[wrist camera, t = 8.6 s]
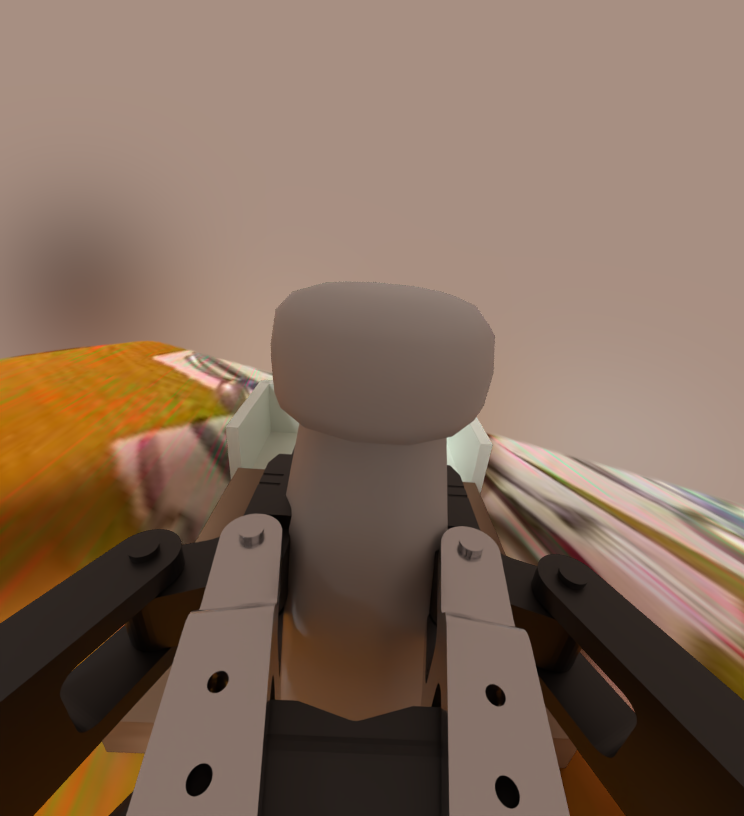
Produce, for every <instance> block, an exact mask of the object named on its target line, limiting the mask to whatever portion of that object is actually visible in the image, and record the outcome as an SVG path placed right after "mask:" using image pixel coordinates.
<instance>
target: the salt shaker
mask: <svg viewBox="0 0 744 816" xmlns="http://www.w3.org/2000/svg"><path fill="white" fill-rule="evenodd" d="M494 344H495V335H494V334H493V332H492V329H491V328H490V326H489V324H488V323H487V321H486V320H485V319H484V317H483V316H482V314H481V313H480V311H479V310H478V308H477V307H476V306H475V305H472V304H471V303H468V302H466V301H464V300H462V299H460V298H458V297H455V296H453V295H450V294H447V293H444V292H440V291H435V290H430V289H425V288H420V287H414V286H406V285H394V284H385V283H377V282H326V283H322V284H319V285H315V286H311V287H308V288H304V289H300V290H297V291H293V292H292V293H291V294H290V295H289V296H288V297H287V298H286V299H285V300H284V301H283V302H282V303H281V304H280V306H279V307H278V308H277V309H276V311H275V318H274V325H273V332H272V339H271V361H272V372H273V384H274V393H275V395H276V398H277V400H278V403H279V405H280V408H281V409H282V410H284V411H285V412H286V413H287V414H288V415H290V416H291V417H292V418H293V419H295V420H296V421H297V422H298V423H299V427H298V433H297V438H296V444H295V449H294V454H293V460H292V465H291V470H290V476H289V481H288V487H287V492H286V496H287V499H288V501H289V503H290V506H291V511H292V517H291V522H290V526H289V535H290V550H289V573H288V595H287V599H286V602H285V616H284V636H283V656H282V675H281V700H294V701H300V702H303V703H306V704H308V705H311V706H314V707H316V708H319V709H322V710H324V711H327V712H330V713H332V714H335V715H338V716H340V717H343V718H346V719H349V720H352V721H359V720H364V719H367V718H371V717H375V716H378V715H382V714H386V713H389V712H393V711H397V710H400V709H404V708H407V707H411V706H421V698H422V681H423V657H424V636H425V629H426V622H427V616H428V615H429V613H430V612H429V610H430V598H431V589H432V579H433V570H434V560H435V551H437V550H438V549H439V548H440V543H441V539H442V536H443V534H444V533H445V532H446V531H447V530H448V514H447V438H448V437H452V436H454V435H455V434H456V433H458V432H459V431H461V430H462V429H463V428H465V427H466V426H467V425H469V424H470V423H471V422H473V421H474V420H475V418H476V417H477V415H478V414H479V412H480V411H481V409H482V407H483V406H484V403H485V399H486V396H487V393H488V390H489V386H490V383H491V379H492V376H493V369H494Z"/></svg>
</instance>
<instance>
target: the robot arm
mask: <svg viewBox="0 0 744 816" xmlns="http://www.w3.org/2000/svg"><path fill="white" fill-rule="evenodd" d="M294 449H295V447H294ZM294 449H293V452H292V454H278V455H277V456H276V457H274V458H273V459H272V460H271V461H269V462H268V464H267V466H266V468H265V471H264V473H263V475H262V477H261V479H260V481H259V484H258V485H257V488H256V490H255V492H254V494H253V496H252V498H251V500H250V502H249V505H248V507H247V509H246V511H245V513H244V515H243V516H242V517H239V518H237V519H235V520H233V521H232V522H230V523H229V524H228V525H227V526H226V527H225V528H224V529H223V531H222V533H221V535H220V537H217V538H214V539H211V540H206V541H201V542H195V543H190V544H185V545H182V544H181V540H180V538H179V536H178V535H177V534H176V533H174V532H172V531H169V530H164V529H155V530H148V531H144V532H141V533H138V534H135V535H133V536H131V537H129V538H127V539H126V540H124V541H122V542H121V543H119V544H118V545H116V546H115V547H113V548H112V549H111V550H109V551H108V552H106V553H105V554H103V555H102V556H100V557H99V558H97V559H96V560H94V561H93V562H91V563H90V564H88V565H87V566H85V567H84V568H82V569H81V570H79V571H78V572H76V573H75V574H73V575H72V576H70V577H69V578H67V579H66V580H64V581H63V582H61V583H60V584H58V585H57V586H55V587H54V588H52V589H51V590H49V591H48V592H46V593H45V594H44V595H42V596H41V597H39V598H38V599H36V600H35V601H33V602H32V603H30V604H29V605H27V606H26V607H24V608H23V609H21V610H20V611H18V612H17V613H15V614H14V615H12V616H11V617H9V618H8V619H6V620H5V621H3V622H2V623H0V816H34V814H35V813H36V812H37V811H38V810H39V809H40V808H41V807H42V806H43V805H44V804H45V802H46V801H47V800H48V799H49V798H50V797H51V796H52V795H53V794H54V793H55V792H56V791H57V789H58V788H59V787H60V786H61V785H62V784H63V783H64V782H65V781H66V780H67V779H68V777H69V776H70V775H71V774H72V773H73V772H74V771H75V770H76V769H77V768H78V767H79V765H80V764H81V763H82V762H83V761H84V760H85V759H86V758H87V757H88V756H89V755H90V754H91V752H92V751H93V750H94V749H95V748H96V747H97V746H98V745H99V744H100V743H101V742H102V740H103V739H104V738H105V737H106V736H107V735H108V734H109V733H110V732H111V731H112V730H113V728H114V727H115V726H116V725H117V724H118V723H119V722H120V721H121V720H122V719H123V718H124V716H125V715H126V714H127V713H128V712H129V711H130V710H131V709H132V708H133V707H134V706H135V705H136V703H137V702H138V701H139V700H140V699H141V698H142V697H143V696H144V695H145V694H146V693H147V691H148V690H149V689H150V688H151V687H152V686H153V685H154V684H155V683H156V682H157V681H158V679H159V678H160V677H161V676H162V675H163V674H164V673H165V672H166V671H167V670H168V669H169V668H170V666H171V665H172V667H171V671H170V674H169V677H168V680H167V684H166V687H165V690H164V693H163V697H162V700H161V703H160V707H159V710H158V713H157V716H156V720H155V723H154V726H153V729H152V733H151V736H150V739H149V742H148V746H147V749H146V752H145V756H144V759H143V762H142V765H141V769H140V772H139V775H138V778H137V782H136V785H135V788H134V791H133V792H132V793H131V794H130V795H129V796H128V797H127V798H126V799H125V800H124V801H123V802H122V803H121V804H120V805H119V806H118V807H117V808H116V809H115V810H114V811H113V812H112V813H111V814H110V815H109V816H570V814H569V810H568V805H567V801H566V797H565V792H564V788H563V783H562V779H561V775H560V770H559V766H558V761H557V757H556V752H555V748H554V744H553V739H552V735H551V730H550V726H549V722H548V717H547V713H546V708H547V709H548V710H549V712H550V713H551V714H552V716H553V717H554V718H555V720H556V721H557V723H558V724H559V725H560V727H561V728H562V729H563V731H564V732H565V733H566V735H567V736H568V738H569V739H570V740H571V742H572V743H573V744H574V746H575V747H576V748H577V750H578V751H579V752H580V754H581V755H582V757H583V758H584V759H585V761H586V762H587V763H588V765H589V766H590V767H591V769H592V770H593V772H594V773H595V774H596V776H597V777H598V778H599V780H600V781H601V782H602V784H603V785H604V787H605V788H606V789H607V791H608V792H609V793H610V795H611V796H612V797H613V799H614V800H615V802H616V803H617V804H618V806H619V807H620V808H621V810H622V811H623V812H624V814H625V815H626V816H744V700H742V699H741V698H740V697H739V696H738V695H737V694H736V693H734V692H733V691H732V690H731V689H730V688H729V687H727V686H726V685H725V684H724V683H723V682H722V681H720V680H719V679H718V678H717V677H716V676H715V675H713V674H712V673H711V672H710V671H709V670H708V669H707V668H705V667H704V666H703V665H702V664H701V663H700V662H698V661H697V660H696V659H695V658H694V657H693V656H691V655H690V654H689V653H688V652H687V651H686V650H684V649H683V648H682V647H681V646H680V645H679V644H678V643H676V642H675V641H674V640H673V639H672V638H671V637H669V636H668V635H667V634H666V633H665V632H664V631H662V630H661V629H660V628H659V627H658V626H657V625H655V624H654V623H653V622H652V621H651V620H650V619H649V618H647V617H646V616H645V615H644V614H643V613H642V612H640V611H639V610H638V609H637V608H636V607H635V606H633V605H632V604H631V603H630V602H629V601H628V600H626V599H625V598H624V597H623V596H622V595H621V594H620V593H618V592H617V591H616V590H615V589H614V588H613V587H611V586H610V585H609V584H608V583H607V582H606V581H604V580H603V579H602V578H601V577H600V576H599V575H597V574H596V573H595V572H594V571H593V570H592V569H590V568H589V567H588V566H586V565H585V564H583V563H582V562H580V561H578V560H576V559H574V558H571V557H568V556H565V555H560V554H550V555H546V556H544V557H542V558H541V559H540V561H539V563H538V565H537V566H534V565H531V564H528V563H525V562H522V561H518V560H515V559H512V558H510V557H507V556H505V555H503V554H501V553H500V550H499V548H498V546H497V544H496V543H495V541H494V540H493V539H492V538H491V537H489V536H488V535H487V534H485V533H484V532H482V531H481V530H480V528H479V525H478V522H477V520H476V517H475V514H474V511H473V509H472V506H471V503H470V501H469V498H468V497H467V496H468V495H467V493H466V490H465V488H464V485H463V482H462V479H461V476H460V475H459V474H458V473H457V472H456V471H455V470H454V469H453V468H452V467H451V466H450V465H447V514H448V530H447V531H446V532H445V533H444V534H443V536H442V539H441V543H440V548H439V549H438V550H437V551H435V560H434V570H433V579H432V589H431V598H430V610H429V612H430V613H429V615H428V616H427V622H426V629H425V636H424V657H423V681H422V698H421V706H411V707H407V708H404V709H400V710H397V711H393V712H389V713H386V714H382V715H378V716H375V717H371V718H367V719H364V720H359V721H352V720H349V719H346V718H343V717H340V716H338V715H335V714H332V713H330V712H327V711H324V710H322V709H319V708H316V707H314V706H311V705H308V704H306V703H303V702H300V701H294V700H281V675H282V656H283V636H284V616H285V602H286V599H287V595H288V573H289V550H290V535H289V526H290V522H291V517H292V511H291V506H290V503H289V501H288V499H287V496H286V492H287V487H288V481H289V476H290V470H291V465H292V460H293V454H294ZM124 624H125V625H124ZM123 625H124V626H123ZM122 626H123V627H122ZM121 627H122V628H121ZM120 628H121V629H120ZM118 629H120V630H119V631H117V630H118ZM116 631H117V632H116ZM115 632H116V633H115ZM114 633H115V634H114ZM113 634H114V635H113ZM112 635H113V636H112ZM110 636H112V637H110ZM109 637H110V638H109ZM108 638H109V639H108ZM107 639H108V640H107ZM106 640H107V641H106ZM105 641H106V642H105ZM103 642H105V643H104V644H102V643H103ZM101 644H102V645H101ZM100 645H101V646H100ZM99 646H100V647H99ZM98 647H99V648H98ZM97 648H98V649H97ZM581 648H582V649H583V650H584V651H585V652H586V653H587V654H588V655H589V656H590V657H591V659H592V660H593V661H594V662H595V663H596V664H597V665H598V666H599V667H600V668H601V669H602V671H603V672H604V673H605V674H606V675H607V676H608V677H609V678H610V679H611V680H612V681H613V682H614V684H615V685H616V686H617V687H618V688H619V689H620V690H621V691H622V692H623V693H624V695H625V696H626V697H627V698H628V700H629V701H630V703H631V705H632V707H633V709H634V711H635V713H634V711H633V710H632V709H631V708H630V707H629V706H628V705H627V704H626V703H625V702H624V700H623V699H622V698H621V697H620V696H619V695H618V694H617V693H616V692H615V690H614V689H613V688H612V687H611V686H610V685H609V684H608V683H607V682H606V681H605V679H604V678H603V677H602V676H601V675H600V674H599V673H598V672H597V671H596V670H595V668H594V667H593V666H592V665H591V664H590V663H589V662H588V661H587V660H586V659H585V657H584V656H583V655H582V654H581V653H580V650H581ZM95 649H97V650H96V651H94V650H95ZM93 651H94V652H93ZM92 652H93V653H92ZM91 653H92V654H91ZM90 654H91V655H90ZM89 655H90V656H89ZM87 656H89V657H88V658H86V657H87ZM85 658H86V659H85ZM84 659H85V660H84ZM83 660H84V661H83ZM82 661H83V662H82ZM81 662H82V663H81ZM79 663H81V664H80V665H78V664H79ZM77 665H78V666H77ZM76 666H77V667H76ZM75 667H76V668H75ZM74 668H75V669H74ZM73 669H74V670H73ZM72 670H73V671H72ZM71 671H72V672H71ZM545 706H546V708H545Z"/></svg>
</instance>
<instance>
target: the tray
mask: <svg viewBox="0 0 744 816" xmlns="http://www.w3.org/2000/svg"><path fill="white" fill-rule="evenodd" d="M298 427H299V423H298V422H297V421H296V420H295V419H293V418H292V417H291V416H290V415H288V414H287V413H286V412H285V411H284V410H282V409H281V408H280V405H279V403H278V400H277V398H276V395H275V393H274V384H273V380H263V381H260V382H259V384H258V385H257V386H256V388H255V389H254V390H253V392H252V393H251V394H250V395H249V397H248V398H247V399H246V401H245V402H244V403H243V405H242V406H241V407H240V408H239V410H238V411H237V412H236V414H235V415H234V416H233V418H232V419H231V420H230V421H229V423H228V424H227V425H226V427H225V428H226V437H227V446H228V456H229V465H230V475H231V479H232V477H233V476H234V474H235V472H236V471H237V469H238V468H251V469H265V468H266V466H267V464H268V462H269V461H271V460H272V459H273V458H274V457H276V456H277V455H278V454H292V452H293V449H294V447H295V444H296V438H297V433H298ZM492 446H493V444H492V442H491V441H490V439H489V437H488V436H487V434H486V432H485V430H484V429H483V427H482V425H481V424H480V422H479V420H478V419H477V417H476V418H475V420H474V421H473V422H471V423H470V424H469V425H467V426H466V427H465V428H463V429H462V430H461V431H459V432H458V433H456V434H455V435H454V436H452V437H448V438H447V465H450V466H451V467H452V468H453V469H454V470H455V471H456V472H457V473H458V474H459V475H460V476H461V479H462V482H473V483H475V484H476V486H477V489H478V491H479V493H481V489H482V485H483V481H484V477H485V473H486V469H487V466H488V462H489V458H490V454H491V450H492Z"/></svg>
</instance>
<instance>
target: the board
mask: <svg viewBox="0 0 744 816" xmlns="http://www.w3.org/2000/svg"><path fill="white" fill-rule="evenodd" d="M264 471H265V469H251V468H238V469H237V471H236V472H235V474H234V476H233V477H232V479H231V481H230V483H229V484H228V486H227V488H226V490H225V491H224V493H223V495H222V497H221V498H220V500H219V502H218V503H217V505H216V507H215V509H214V510H213V512H212V514H211V516H210V517H209V519H208V521H207V523H206V524H205V526H204V528H203V529H202V531H201V533H200V535H199V536H198V538H197V540H196V542H201V541H206V540H211V539H214V538H217V537H220V535H221V533H222V531H223V529H224V528H225V527H226V526H227V525H228V524H229V523H230V522H232V521H233V520H235V519H237V518H239V517H242V516H243V515H244V513H245V511H246V509H247V507H248V505H249V502H250V500H251V498H252V496H253V494H254V492H255V490H256V488H257V485H258V484H259V481H260V479H261V477H262V475H263V473H264ZM463 485H464V488H465V490H466V493H467V495H468V496H467V497H468V498H469V501H470V503H471V506H472V509H473V511H474V514H475V517H476V520H477V522H478V525H479V528H480V530H481V531H482V532H484V533H485V534H487V535H488V536H489V537H491V538H492V539H493V540H494V541H495V543H496V544H497V546H498V548H499V550H500V553H501V554H503V555H505V552H504V550H503V548H502V545H501V543H500V541H499V538H498V536H497V533H496V531H495V529H494V526H493V524H492V522H491V519H490V517H489V515H488V512H487V510H486V507H485V505H484V503H483V500H482V498H481V496H480V493H479V491H478V489H477V486H476V484H475V483H473V482H463ZM505 556H506V555H505ZM171 667H172V665H171V666H170V668H169V669H168V670H167V671H166V672H165V673H164V674H163V675H162V676H161V677H160V678H159V679H158V681H157V682H156V683H155V684H154V685H153V686H152V687H151V688H150V689H149V690H148V691H147V693H146V694H145V695H144V696H143V697H142V698H141V699H140V700H139V701H138V702H137V703H136V705H135V706H134V707H133V708H132V709H131V710H130V711H129V712H128V713H127V714H126V715H125V716H124V718H123V719H122V720H121V721H120V722H119V723H118V724H117V725H116V726H115V727H114V728H113V730H112V731H111V732H110V733H109V734H108V735H107V736H106V737H105V738H104V739H103V740H102V742H103V744H104V747H105V749H106V751H107V752H126V753H145V752H146V749H147V746H148V742H149V739H150V736H151V733H152V729H153V726H154V723H155V720H156V716H157V713H158V710H159V707H160V703H161V700H162V697H163V693H164V690H165V687H166V684H167V680H168V677H169V674H170V671H171ZM545 708H546V706H545ZM546 713H547V717H548V722H549V726H550V730H551V735H552V739H553V744H554V748H555V752H556V757H557V761H558V766H559V768H566V766H567V765H568V763H569V762H570V760H571V758H572V757H573V755H574V754H575V752H576V750H577V748H576V747H575V746H574V744H573V743H572V742H571V740H570V739H569V738H568V736H567V735H566V733H565V732H564V731H563V729H562V728H561V727H560V725H559V724H558V723H557V721H556V720H555V718H554V717H553V716H552V714H551V713H550V712H549V710H548V709H547V708H546Z"/></svg>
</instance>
